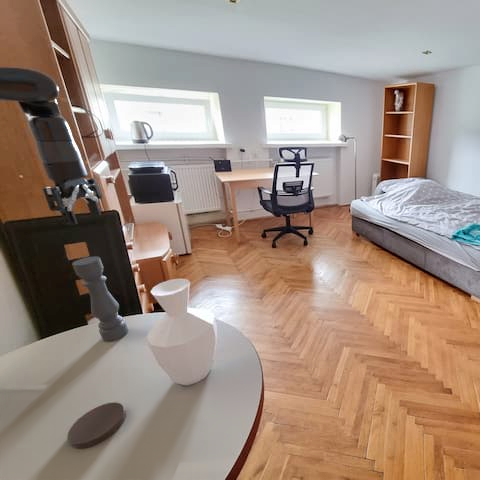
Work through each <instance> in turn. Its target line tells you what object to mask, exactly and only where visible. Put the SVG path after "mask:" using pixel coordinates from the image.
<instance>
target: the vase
mask: <svg viewBox="0 0 480 480" xmlns="http://www.w3.org/2000/svg"><path fill="white" fill-rule="evenodd" d="M190 289H191V281H190V280H189V279H188V278H173V279H168V280H165V281H162V282H159V283H158V284H156V285H155V286H153V287H152V289H151V290H150V292H149V293H150V294H151V295H152V296H153V297H154V299H155V300H156V301H157V303H158V305H160V307H161V308H162V310H164V312H165V313H166V315H164V316H163V317H162V318H161V319H159V321H157V323H155V324H154V325H153V326H152V327H151V328H150V330H149V331H148V333H147V336H146V337H145V338H146V342H147V344H148V347H149V349H150V351H151V353H152V355H153V356H154V359H155V361H156V362H157V364H158V366H159V367H160V368H161V369H162V370H163V371H164V372H165V373H166V374H167V376H168V377H169V379H170V380H171V381H172V382H173V384H177V385H182V386H191V385H193V384H197V383H199V382H200V381H202V380H203V379H205V378H207V376H208V375H209V373H210V372H211V370H212V368H213V366H214V361H215V355H216V350H217V342H218V341H217V340H218V324H217V319H216V316H215V314H214V313H212V312H211V311H210V310H208V309H202V308H192V307H189V299H190Z"/></svg>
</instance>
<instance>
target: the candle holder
mask: <svg viewBox="0 0 480 480" xmlns="http://www.w3.org/2000/svg"><path fill="white" fill-rule="evenodd" d="M101 259H102V258H101V257H100V256H88V257H83V258H80V259H77V260H75V261H73V262H72V263H71V265H72V267H73V270H74V273H75V275H76V276H78V278H80V279H81V280H83V281H82V282H81V285H82V286H83V287H85V288H86V289H87V291H88V294H89V296H90V311H91V312H90V313H91V316H93V318H96V319H98V321H99V323H98V325H97V326H98V328H99V329H98V332H99V334H100V337H101V340H102V341H103V342H104V343H111V342H115V341H118V340H120V339H123V338H124V337H125V336H127V334H128V333H129V328H128V325H127V322H126V321H125V319H124V317H122V316H121V315H119V310H120V304H119V302H118V301H117V300H116V299H115V297H113V295H112V294H111V293H110V291H109V290H108V288H107V285H106V281H107V276H105V275H103V272H104V269H105V267H104V265H103V262H102V260H101ZM123 336H124V337H123ZM119 338H120V339H119ZM117 339H118V340H117Z"/></svg>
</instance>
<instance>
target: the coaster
mask: <svg viewBox="0 0 480 480" xmlns="http://www.w3.org/2000/svg"><path fill="white" fill-rule="evenodd" d="M126 418H127V412H126V409H125V407H124V405H123V404H122V403H120V402H115V401H114V402H108V403H104V404H103V403H102V404H101V405H99V406H96V407H94V408H92V409H90V410H89V411H87V412H86V413H84V414H83V415H81V416H80V417H79V418H77V420H76V421H75V422H74V423H73V424H72V425H71V427H70V428H69V429H68V432H67V441H68V443H69V444H70V446H71V447H72V448H74V449H78V450H81V449H87V448H90V447H91V448H92V447H93V446H96V445H98V444H100V443H102V442H104V441H105V440H107V439H109V438H110V437H111V436H112V435H114V434H115V433H116V432H117V431H118V430H119V429H120V428H121V427H122V426H123V424H124V422H125V421H126Z"/></svg>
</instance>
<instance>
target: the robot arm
mask: <svg viewBox="0 0 480 480" xmlns="http://www.w3.org/2000/svg"><path fill="white" fill-rule="evenodd" d="M59 96H60V89H59V86H58V84H57V83H56V81H55V80H54V79H53V78H52V77H50V75H47V74H46V73H44V72H42V71H40V70H37V69H32V68H25V67H11V66H9V67H8V66H0V101H7V102H17V104H18V105H19V107H20V109H21V111H22V113H23V114H24V116H25V118H26V121H27V124H28V129H29V130H30V133H31V135H32V138H33V140H34V143H35V147H36V151H37V154H38V156H39V159H40V162H41V164H42V166H43V168H44V169H43V170H44V171H45V173H46V176H47V178H48V179H49V180H50V181H53V184H54V185H53V186H43V188H42V191H43V194H44V196H45V199H46V202H47V205H48V207H49V210H50V211H51V212H59V213H60V214H61V216H62V219H63V221H64V223H65V224H66V225H67V226H75V225H76V226H77V225H78V223H79V221H78V220H77V218H76V215H75V212H74V210H73V205H74V204H75V203H76V201H77V200H79V199H82V200H84V201H85V202H86V204H87V207H88V211H89V213H90V215H91V216H92V217H99V216H102V212H101V208H100V206H99V201H100V199H103V194H102V193H101V190H100V187H99V183H98V182H97V179H96V178H94V177H90V178H87V177H88V172H87V169H86V166H85V164H84V160H83V158H82V154H81V152H80V149H79V148H78V145H77V143H76V141H75V139H74V136H73V133H72V130H71V128H70V125H69V123H68V121H67V120H66V119H65V118H64V117H63V115H62V112H61V110H60V107H59V105H58V102H57V99H58V98H59ZM94 192H95V193H94Z"/></svg>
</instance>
